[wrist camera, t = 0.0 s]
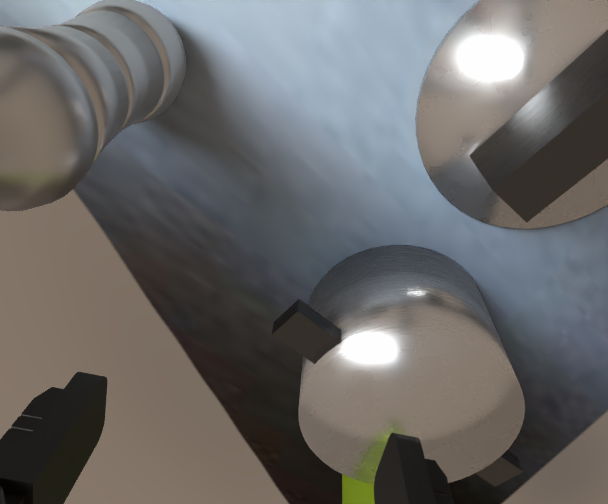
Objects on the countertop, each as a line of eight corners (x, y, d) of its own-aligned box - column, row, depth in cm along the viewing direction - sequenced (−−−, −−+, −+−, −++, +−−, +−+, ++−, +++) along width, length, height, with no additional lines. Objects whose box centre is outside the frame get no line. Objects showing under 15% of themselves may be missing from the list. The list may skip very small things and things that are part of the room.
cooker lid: (581, -115, 25) (651, -137, 19) (737, 96, 30) (830, 127, 24) (362, 120, 32) (368, 153, 26) (518, 261, 36) (551, 315, 31)
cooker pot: (361, 180, 33) (369, 255, 25) (546, 338, 40) (604, 443, 31) (240, 301, 39) (213, 396, 31) (417, 423, 45) (435, 531, 37)
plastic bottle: (215, 42, 30) (45, 154, 12) (162, 130, 32) (-33, 318, 15) (118, -32, 28) (-234, -20, 11) (73, 68, 31) (-261, 203, 14)
